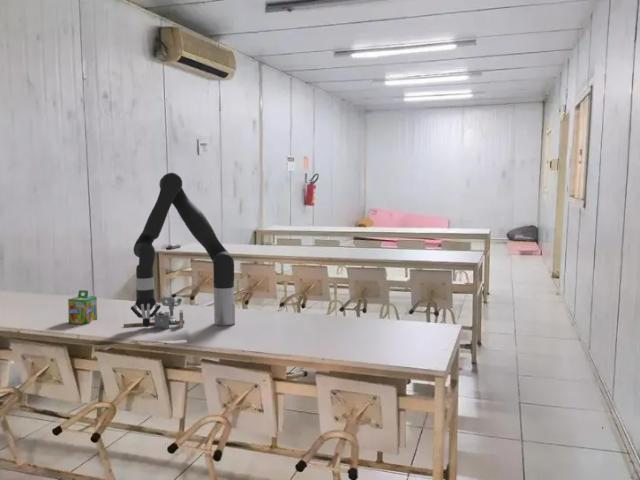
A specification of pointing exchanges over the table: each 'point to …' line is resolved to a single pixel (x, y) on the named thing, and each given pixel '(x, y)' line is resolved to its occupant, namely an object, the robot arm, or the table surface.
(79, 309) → the chalk box
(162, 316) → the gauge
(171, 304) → the mechanical component
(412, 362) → the table surface
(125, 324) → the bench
